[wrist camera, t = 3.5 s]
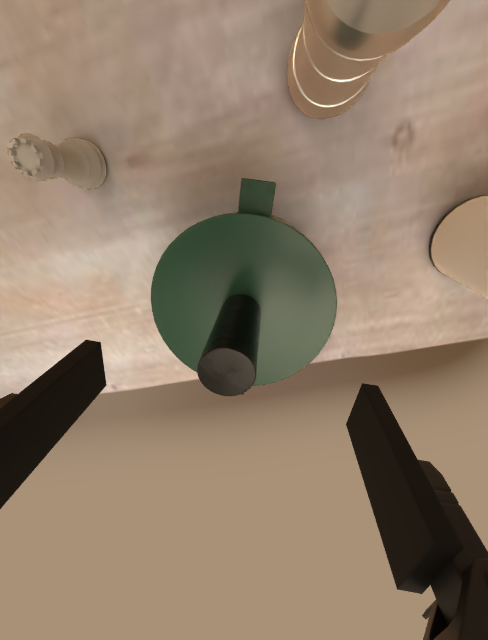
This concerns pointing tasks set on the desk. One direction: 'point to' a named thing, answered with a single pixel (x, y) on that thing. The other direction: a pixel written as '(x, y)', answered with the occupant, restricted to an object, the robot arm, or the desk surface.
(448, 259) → the mug
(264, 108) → the desk surface
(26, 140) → the rook chess piece
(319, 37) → the silver metal bottle
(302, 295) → the lid
